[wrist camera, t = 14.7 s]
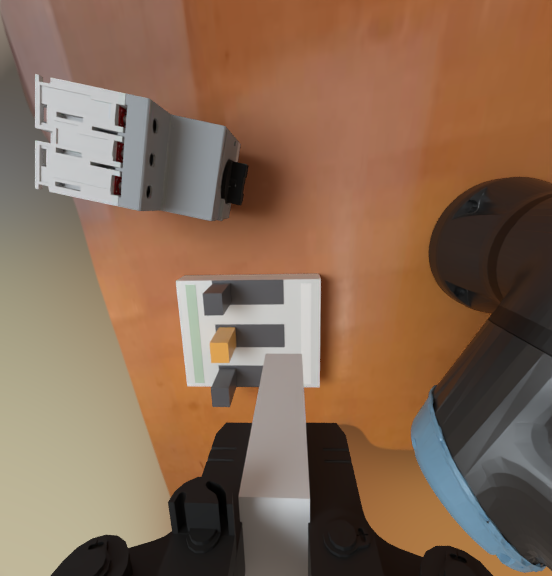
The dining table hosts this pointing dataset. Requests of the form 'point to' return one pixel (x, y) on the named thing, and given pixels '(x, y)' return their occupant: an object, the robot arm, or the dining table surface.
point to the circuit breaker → (134, 153)
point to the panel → (252, 324)
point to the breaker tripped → (223, 345)
